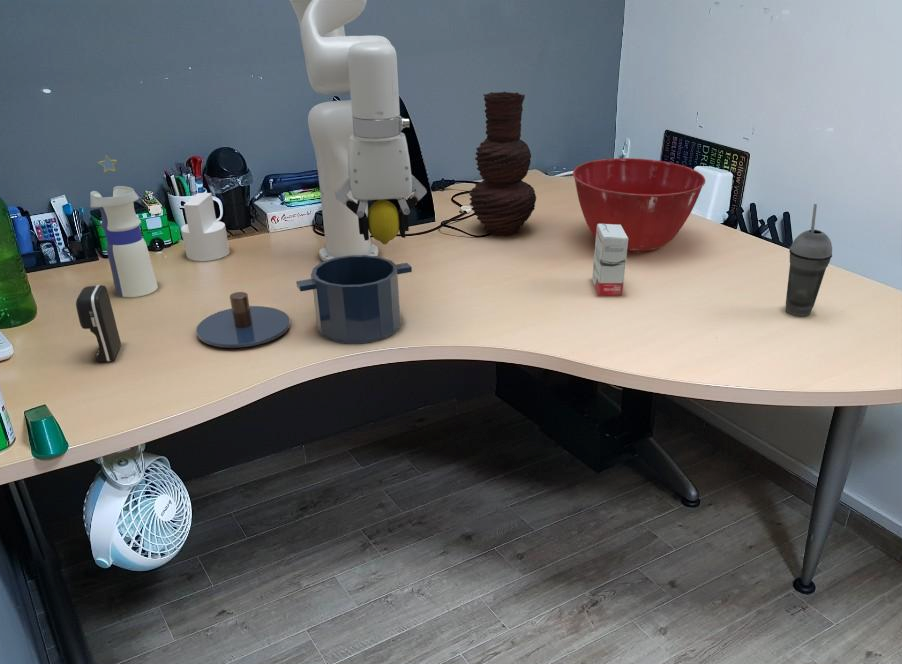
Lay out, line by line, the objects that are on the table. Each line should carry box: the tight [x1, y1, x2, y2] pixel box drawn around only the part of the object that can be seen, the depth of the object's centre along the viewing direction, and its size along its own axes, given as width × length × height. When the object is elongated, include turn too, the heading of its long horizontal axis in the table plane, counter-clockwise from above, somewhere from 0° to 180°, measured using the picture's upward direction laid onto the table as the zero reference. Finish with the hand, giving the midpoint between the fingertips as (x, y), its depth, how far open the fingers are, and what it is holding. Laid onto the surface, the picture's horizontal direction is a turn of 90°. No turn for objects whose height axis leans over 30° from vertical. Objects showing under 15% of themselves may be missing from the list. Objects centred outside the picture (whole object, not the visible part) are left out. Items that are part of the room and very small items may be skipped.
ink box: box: [591, 224, 628, 297], centre depth 155 cm, size 8×5×12 cm, turn 2°
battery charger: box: [75, 284, 122, 362], centre depth 130 cm, size 7×4×11 cm, turn 12°
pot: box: [295, 255, 413, 345], centre depth 140 cm, size 15×20×10 cm
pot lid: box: [196, 291, 291, 349], centre depth 139 cm, size 16×16×7 cm
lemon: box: [367, 199, 400, 245], centre depth 136 cm, size 6×6×8 cm
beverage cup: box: [784, 203, 833, 318], centre depth 143 cm, size 7×7×20 cm
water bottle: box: [89, 154, 159, 298], centre depth 150 cm, size 8×9×25 cm
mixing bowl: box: [572, 157, 706, 254], centre depth 177 cm, size 28×28×15 cm
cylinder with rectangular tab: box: [180, 192, 230, 262], centre depth 171 cm, size 9×9×12 cm
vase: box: [469, 91, 537, 236], centre depth 180 cm, size 15×15×30 cm
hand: (384, 235), depth 137 cm, fingers closed on lemon, 5 cm apart
